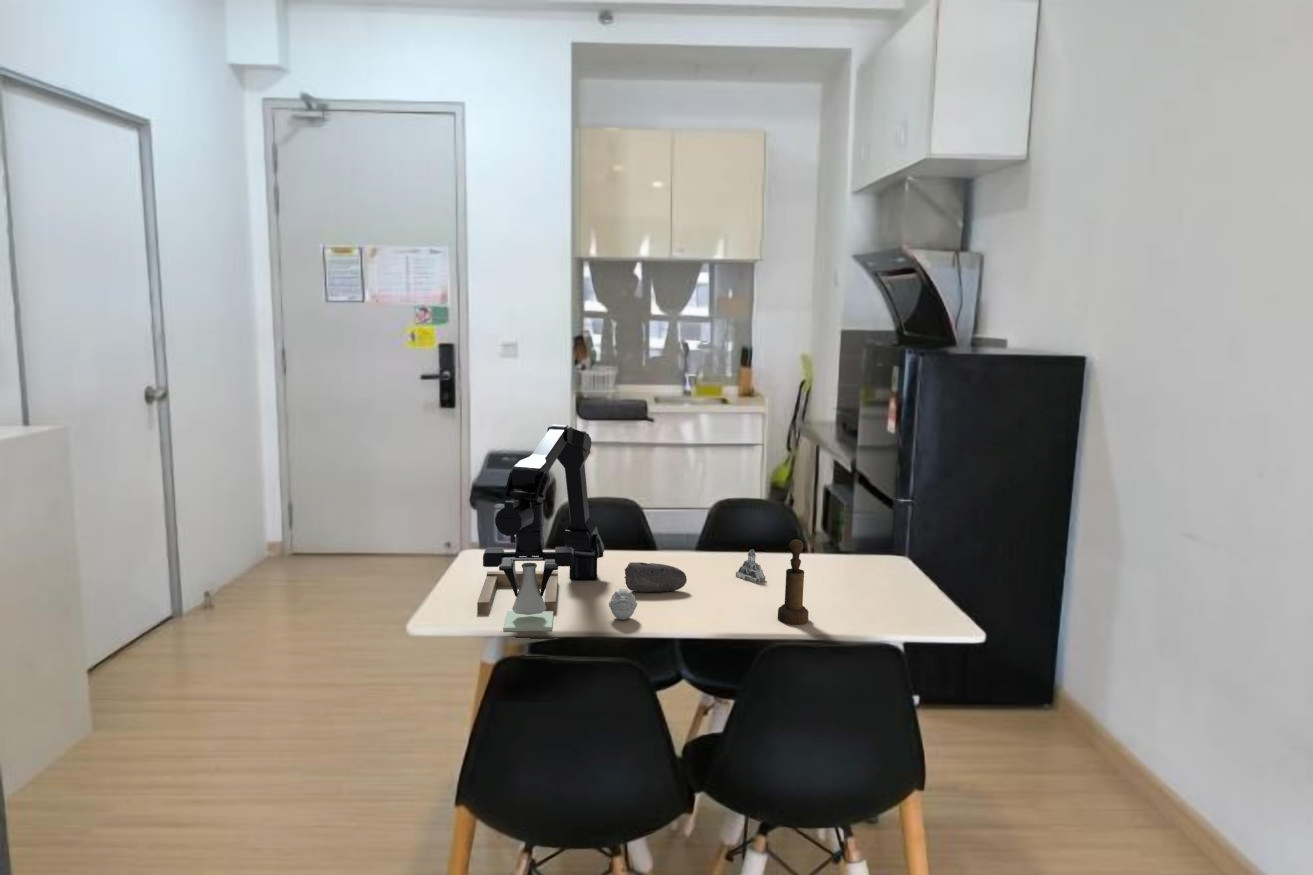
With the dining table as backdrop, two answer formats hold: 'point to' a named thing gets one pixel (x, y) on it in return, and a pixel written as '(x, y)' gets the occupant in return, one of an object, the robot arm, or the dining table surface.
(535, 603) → the flask
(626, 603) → the frog figurine
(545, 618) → the pad
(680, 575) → the perforated stone tool
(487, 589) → the frame
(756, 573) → the grey temple model
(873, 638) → the dining table surface
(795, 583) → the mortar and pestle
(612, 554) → the dining table surface
